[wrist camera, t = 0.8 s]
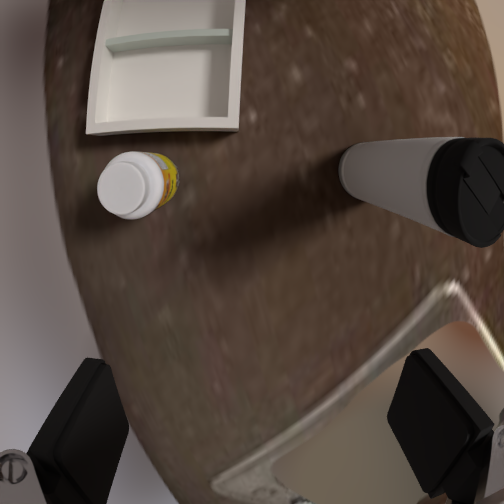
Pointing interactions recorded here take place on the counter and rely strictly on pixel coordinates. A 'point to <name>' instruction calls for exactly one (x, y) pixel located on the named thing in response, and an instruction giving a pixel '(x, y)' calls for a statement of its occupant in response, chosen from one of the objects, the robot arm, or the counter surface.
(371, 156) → the travel mug
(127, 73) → the bay tray
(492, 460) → the robot arm
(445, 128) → the counter surface
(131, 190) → the supplement bottle
